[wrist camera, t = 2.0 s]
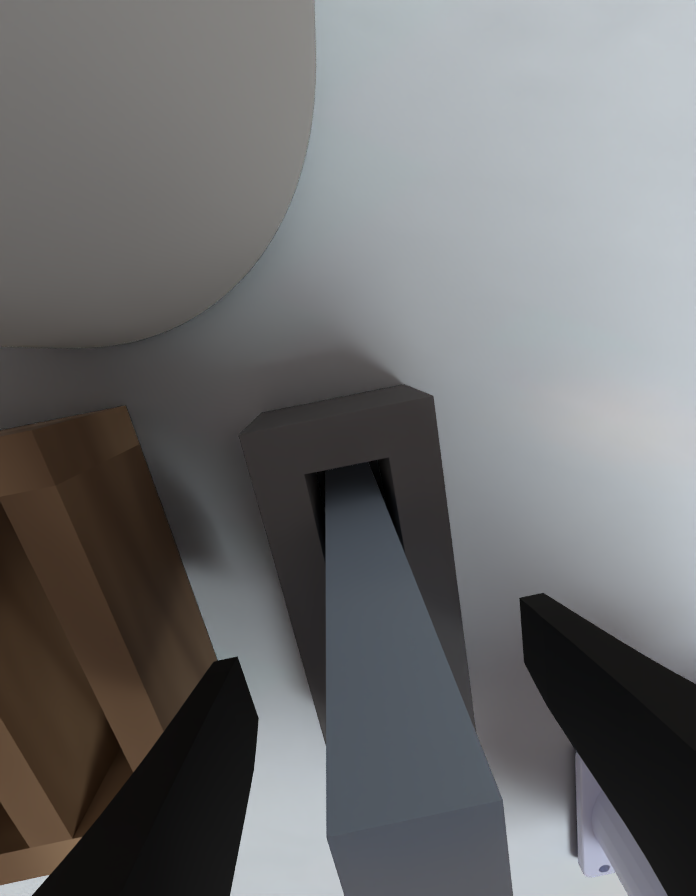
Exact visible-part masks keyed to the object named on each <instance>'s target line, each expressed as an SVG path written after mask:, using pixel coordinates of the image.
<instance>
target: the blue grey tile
mask: <svg viewBox="0 0 696 896" xmlns="http://www.w3.org/2000/svg"><path fill="white" fill-rule="evenodd" d="M325 524H326V826H327V841H328V844H329V847H330V850H331V854H332V857H333V860H334V863H335V867H336V870H337V873H338V876H339V879H340V883H341V886H342V889H343V892H344V896H513V891H512V882H511V872H510V863H509V854H508V844H507V835H506V826H505V817H504V807H503V799H502V797H501V794H500V792H499V789H498V787H497V784H496V782H495V779H494V777H493V774H492V772H491V769H490V767H489V764H488V762H487V759H486V757H485V754H484V752H483V749H482V747H481V744H480V742H479V739H478V737H477V734H476V732H475V729H474V727H473V724H472V721H471V719H470V716H469V714H468V711H467V709H466V706H465V704H464V701H463V699H462V696H461V694H460V691H459V689H458V686H457V684H456V681H455V679H454V676H453V674H452V671H451V669H450V666H449V664H448V661H447V659H446V656H445V654H444V651H443V649H442V646H441V643H440V641H439V638H438V636H437V633H436V631H435V628H434V626H433V623H432V621H431V618H430V616H429V613H428V611H427V608H426V606H425V603H424V601H423V598H422V596H421V593H420V591H419V588H418V586H417V583H416V581H415V578H414V576H413V573H412V571H411V568H410V566H409V563H408V560H407V558H406V555H405V553H404V550H403V548H402V545H401V543H400V540H399V538H398V535H397V533H396V530H395V528H394V525H393V523H392V520H391V518H390V515H389V513H388V510H387V508H386V505H385V503H384V500H383V498H382V495H381V493H380V490H379V488H378V485H377V482H376V480H375V477H374V475H373V472H372V470H371V467H370V465H369V462H364V463H359V464H354V465H349V466H344V467H339V468H334V469H329V470H325Z"/></svg>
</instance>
